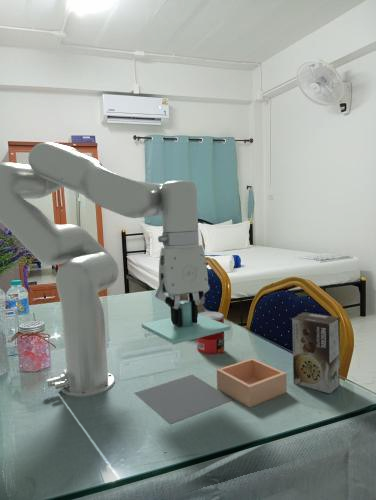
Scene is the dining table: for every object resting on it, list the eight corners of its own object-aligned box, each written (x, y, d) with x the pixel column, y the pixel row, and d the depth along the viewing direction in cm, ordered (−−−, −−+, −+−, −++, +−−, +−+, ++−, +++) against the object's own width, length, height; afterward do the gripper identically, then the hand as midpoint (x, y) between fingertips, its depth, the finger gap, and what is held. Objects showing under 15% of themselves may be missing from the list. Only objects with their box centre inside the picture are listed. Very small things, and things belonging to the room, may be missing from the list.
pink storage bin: (249, 410, 81) (249, 387, 80) (217, 390, 90) (216, 369, 89) (286, 394, 87) (286, 373, 86) (252, 377, 96) (252, 358, 95)
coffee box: (340, 384, 91) (341, 317, 89) (329, 394, 86) (330, 324, 84) (304, 374, 97) (303, 311, 95) (291, 383, 92) (291, 317, 90)
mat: (170, 427, 75) (170, 424, 75) (134, 395, 89) (134, 392, 89) (233, 402, 84) (233, 399, 84) (192, 376, 97) (192, 374, 97)
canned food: (222, 356, 110) (222, 319, 108) (195, 355, 111) (193, 318, 110) (225, 347, 117) (224, 311, 116) (199, 346, 119) (198, 311, 118)
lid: (174, 344, 75) (172, 315, 74) (141, 327, 87) (140, 302, 86) (230, 329, 83) (229, 302, 82) (193, 315, 94) (192, 292, 94)
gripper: (155, 244, 75) (160, 336, 77) (222, 237, 84) (225, 320, 86) (138, 242, 81) (143, 327, 83) (202, 236, 90) (205, 313, 92)
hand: (184, 322), depth 85 cm, fingers closed on lid, 3 cm apart
